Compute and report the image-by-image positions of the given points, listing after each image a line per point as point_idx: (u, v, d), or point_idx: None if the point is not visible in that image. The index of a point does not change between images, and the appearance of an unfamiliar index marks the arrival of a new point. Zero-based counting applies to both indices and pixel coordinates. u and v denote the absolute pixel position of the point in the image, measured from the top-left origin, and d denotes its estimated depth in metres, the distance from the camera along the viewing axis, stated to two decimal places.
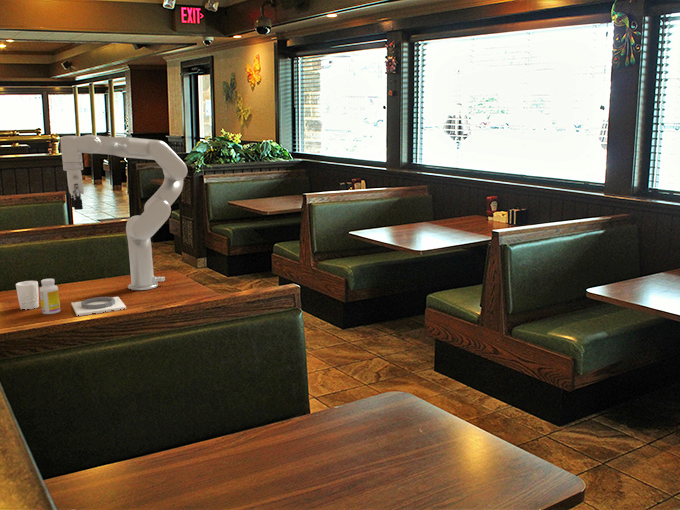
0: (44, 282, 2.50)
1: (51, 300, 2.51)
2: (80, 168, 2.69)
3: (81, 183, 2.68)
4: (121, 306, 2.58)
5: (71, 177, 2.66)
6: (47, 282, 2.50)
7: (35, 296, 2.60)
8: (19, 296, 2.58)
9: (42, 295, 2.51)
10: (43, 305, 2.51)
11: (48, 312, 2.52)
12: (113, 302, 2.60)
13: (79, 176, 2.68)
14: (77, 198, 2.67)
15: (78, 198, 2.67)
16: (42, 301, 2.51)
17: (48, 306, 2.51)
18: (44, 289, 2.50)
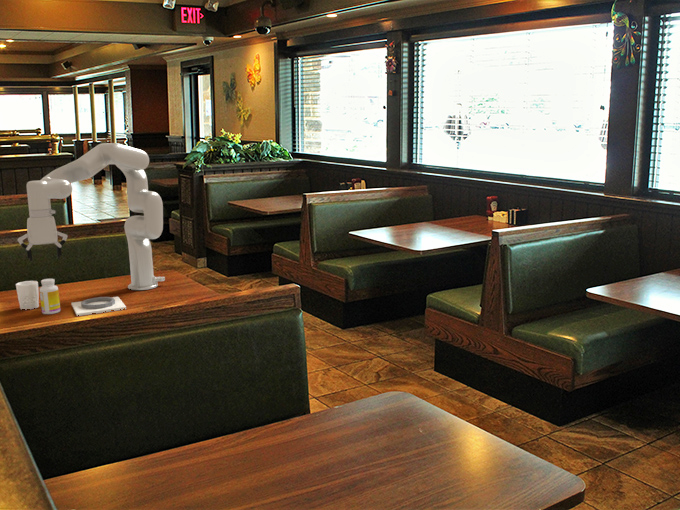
0: (44, 282, 2.50)
1: (51, 300, 2.51)
2: None
3: None
4: (121, 306, 2.58)
5: (55, 224, 2.49)
6: (47, 282, 2.50)
7: (35, 296, 2.60)
8: (19, 296, 2.58)
9: (42, 295, 2.51)
10: (43, 305, 2.51)
11: (48, 312, 2.52)
12: (113, 302, 2.60)
13: None
14: None
15: None
16: (42, 301, 2.51)
17: (48, 306, 2.51)
18: (44, 289, 2.50)
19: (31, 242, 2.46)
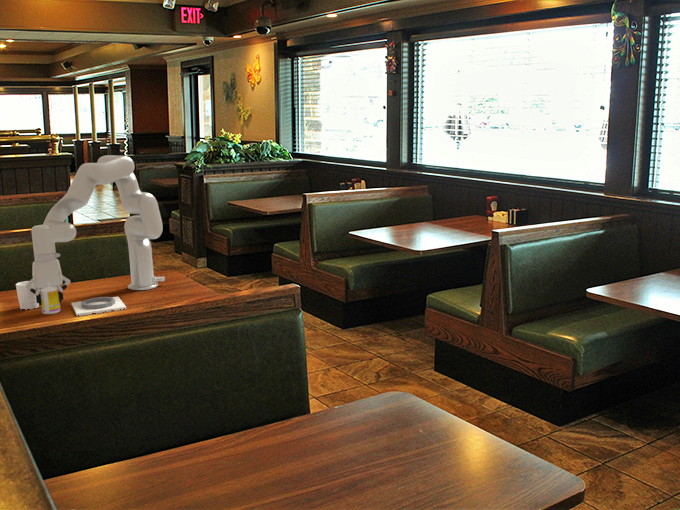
0: None
1: (51, 300, 2.51)
2: None
3: None
4: (121, 306, 2.58)
5: (59, 267, 2.52)
6: None
7: (35, 296, 2.60)
8: (19, 296, 2.58)
9: (42, 295, 2.51)
10: (43, 305, 2.51)
11: (48, 312, 2.52)
12: (113, 302, 2.60)
13: None
14: None
15: None
16: (42, 301, 2.51)
17: (48, 306, 2.51)
18: (44, 289, 2.50)
19: (36, 286, 2.49)
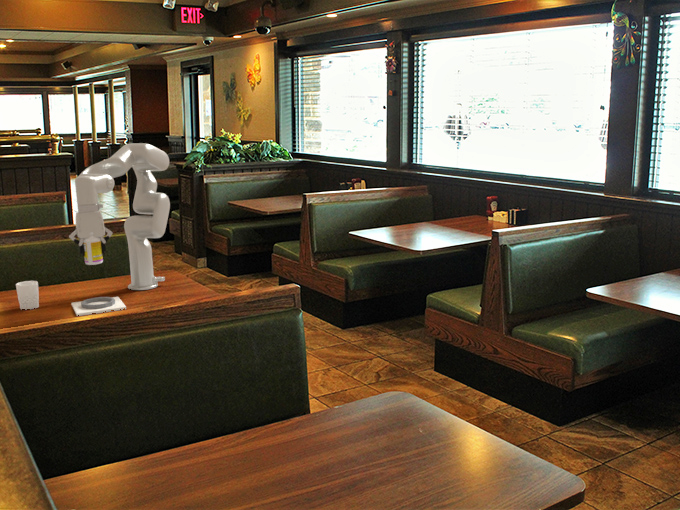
0: None
1: (94, 250, 2.54)
2: None
3: None
4: (121, 306, 2.58)
5: (102, 218, 2.55)
6: (90, 233, 2.53)
7: (35, 296, 2.60)
8: (19, 296, 2.58)
9: (85, 245, 2.53)
10: (86, 256, 2.54)
11: (91, 262, 2.54)
12: (113, 302, 2.60)
13: None
14: None
15: None
16: (85, 252, 2.54)
17: (92, 256, 2.54)
18: (87, 239, 2.53)
19: (80, 236, 2.52)
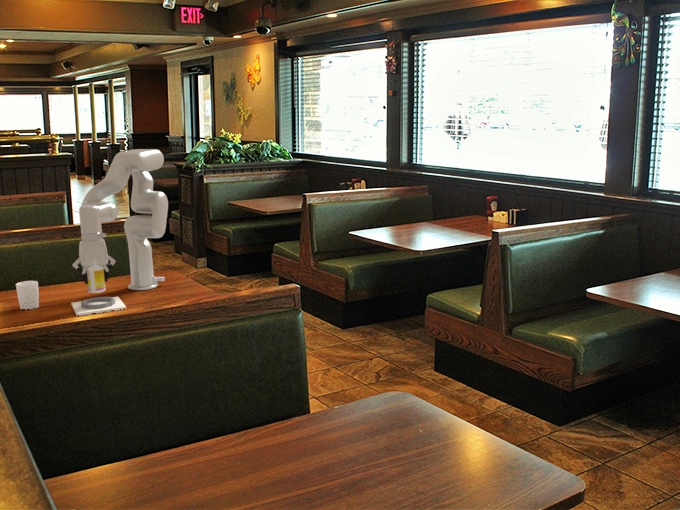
0: None
1: (97, 279, 2.56)
2: None
3: None
4: (121, 306, 2.58)
5: (105, 247, 2.57)
6: (94, 261, 2.55)
7: (35, 296, 2.60)
8: (19, 296, 2.58)
9: (89, 274, 2.55)
10: (89, 284, 2.56)
11: (94, 291, 2.56)
12: (113, 302, 2.60)
13: None
14: None
15: None
16: (88, 280, 2.56)
17: (95, 284, 2.56)
18: (91, 268, 2.55)
19: (83, 265, 2.54)
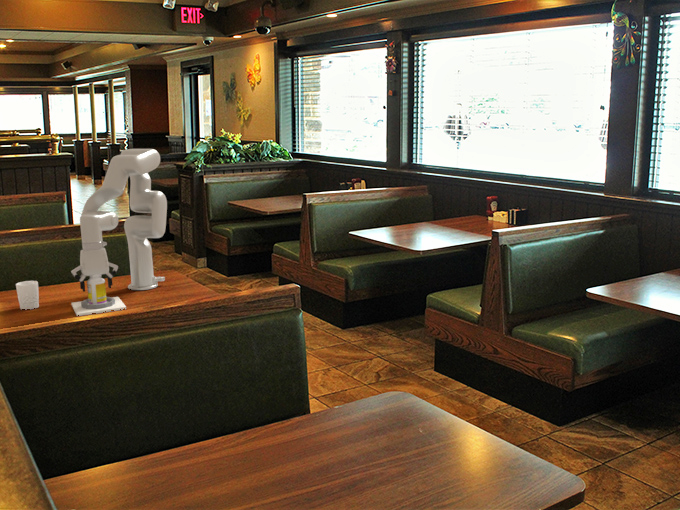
0: None
1: (99, 292, 2.57)
2: None
3: None
4: (121, 306, 2.58)
5: (106, 255, 2.58)
6: (95, 275, 2.56)
7: (35, 296, 2.60)
8: (19, 296, 2.58)
9: (90, 287, 2.56)
10: (91, 297, 2.57)
11: (95, 304, 2.57)
12: (113, 302, 2.60)
13: None
14: None
15: None
16: (90, 293, 2.57)
17: (96, 298, 2.57)
18: (92, 281, 2.56)
19: (84, 274, 2.55)
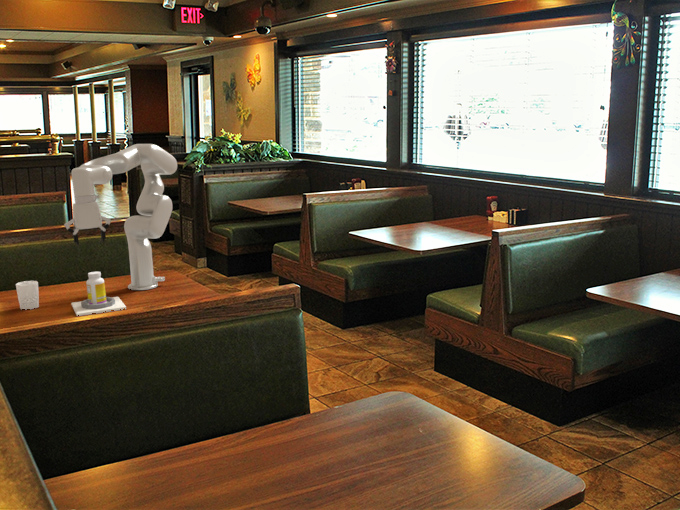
0: (91, 275, 2.56)
1: (98, 292, 2.57)
2: None
3: None
4: (121, 306, 2.58)
5: (99, 209, 2.59)
6: (94, 275, 2.56)
7: (35, 296, 2.60)
8: (19, 296, 2.58)
9: (90, 288, 2.56)
10: (90, 297, 2.57)
11: (95, 304, 2.57)
12: (113, 302, 2.60)
13: None
14: None
15: None
16: (89, 293, 2.57)
17: (96, 298, 2.57)
18: (92, 282, 2.56)
19: (78, 227, 2.56)
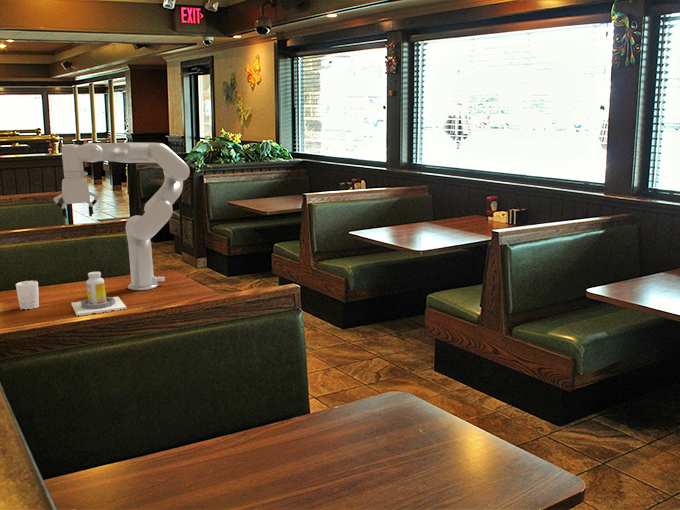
0: (91, 275, 2.56)
1: (98, 292, 2.57)
2: None
3: None
4: (121, 306, 2.58)
5: (87, 184, 2.71)
6: (94, 275, 2.56)
7: (35, 296, 2.60)
8: (19, 296, 2.58)
9: (90, 287, 2.56)
10: (91, 297, 2.57)
11: (96, 304, 2.58)
12: (113, 302, 2.60)
13: None
14: (93, 204, 2.74)
15: (93, 204, 2.75)
16: (90, 293, 2.57)
17: (96, 298, 2.57)
18: (92, 282, 2.56)
19: (66, 201, 2.68)
